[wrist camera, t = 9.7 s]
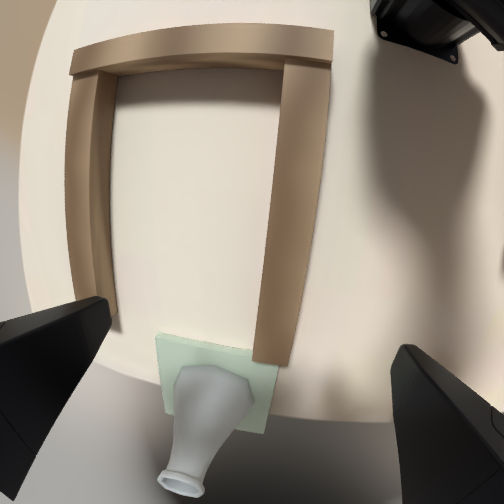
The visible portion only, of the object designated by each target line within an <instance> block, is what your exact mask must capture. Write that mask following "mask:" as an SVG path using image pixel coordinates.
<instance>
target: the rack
mask: <svg viewBox="0 0 504 504" xmlns="http://www.w3.org/2000/svg"><path fill="white" fill-rule="evenodd" d="M333 39H334V31H332V30H326V29H319V28H312V27H303V26H294V25H281V24H262V23H223V24H204V25H192V26H182V27H174V28H166V29H159V30H153V31H147V32H142V33H137V34H132V35H127V36H123V37H118V38H114V39H110V40H106V41H103V42H99V43H95V44H92V45H89V46H85V47H82V48H79V49H76V50H74V53H73V57H72V62H71V67H70V72H69V75H72V76H73V81H72V88H71V94H70V102H69V110H68V119H67V131H66V146H65V214H66V229H67V241H68V251H69V259H70V267H71V274H72V281H73V287H74V293H75V299H76V301H78V300H82V299H85V298H89V297H92V296H101V297H104V298H106V299H107V300H108V302H109V307H110V313H111V317H113V316H114V315H115V314H116V313H117V305H116V297H115V288H114V279H113V268H112V255H111V239H110V209H109V184H110V154H111V138H112V126H113V115H114V106H115V98H116V91H117V84H118V77H119V76H124V75H131V74H138V73H146V72H154V71H164V70H177V69H193V68H254V69H271V70H283V71H284V76H283V86H282V97H281V107H280V117H279V127H278V137H277V147H276V156H275V166H274V175H273V184H272V194H271V203H270V212H269V221H268V230H267V238H266V247H265V256H264V264H263V273H262V281H261V290H260V298H259V306H258V314H257V322H256V330H255V338H254V346H253V354H252V361H253V362H259V363H266V364H273V365H280V366H288V362H289V358H290V353H291V349H292V344H293V339H294V335H295V330H296V325H297V320H298V315H299V310H300V305H301V299H302V294H303V289H304V283H305V278H306V272H307V266H308V260H309V255H310V248H311V242H312V236H313V229H314V223H315V216H316V209H317V202H318V195H319V187H320V180H321V171H322V163H323V155H324V145H325V136H326V126H327V115H328V104H329V91H330V77H331V63H332V60H333Z"/></svg>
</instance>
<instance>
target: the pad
mask: <svg viewBox="0 0 504 504" xmlns="http://www.w3.org/2000/svg"><path fill="white" fill-rule="evenodd" d="M155 340H156V350H157V358H158V367H159V374H160V381H161V388H162V395H163V401H164V407H165V413H167V414H170V415H174V404H173V389H174V383H175V381H176V379H177V376H178V374H179V372H180V369H181V367H182V366H199V365H215V366H218V367H220V368H222V369H224V370H227V371H229V372H231V373H233V374H236V375H238V376H241V377H243V378H245V379H247V380H248V383H249V386H250V389H251V392H252V395H253V398H254V401H255V403H254V405H253V406H252V407H251V409H250V410H249V411H248V413H247V414H246V415H245V416H244V418H243V419H242V420H241V421H240V423H239V424H238V425H237V426H236V428H235V430H241V431H247V432H253V433H260V434H264V431H265V426H266V422H267V417H268V413H269V409H270V405H271V400H272V396H273V391H274V386H275V382H276V377H277V372H278V367H279V365H273V364H266V363H259V362H253V361H252V354H253V351H252V350H246V349H240V348H234V347H228V346H223V345H217V344H212V343H207V342H202V341H197V340H192V339H188V338H183V337H178V336H174V335H170V334H165V333H161V332H159V333H158V334H157V335H156V337H155Z"/></svg>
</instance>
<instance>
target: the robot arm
mask: <svg viewBox="0 0 504 504" xmlns="http://www.w3.org/2000/svg"><path fill="white" fill-rule="evenodd" d="M370 10H371V13H372V14H373V15H375V16H377V34H378V36H379V37H380V38H381V39H383V40H387V41H390V42H394V43H397V44H400V45H404V46H407V47H410V48H413V49H416V50H419V51H422V52H424V53H427V54H430V55H433V56H435V57H438V58H440V59H443V60H445V61H448V62H450V63H452V64H458V49H457V45H459V44H461V43H462V42H464V41H465V40H467V39H469V38H470V37H472V36H474V35H476V34H477V33H479V32H481V33H482V34H483V35H484V36H485V37H486V38H487V39H488V40H489V41H490V42H491V45H492V46H493V47H494V48H495V49H496V50H497V51H504V0H370ZM381 31H385V32H386V33H387V35H388V36H387V37H383V36H382V35H381ZM451 55H453V56H454V57H455V58H456V61H452V60H451V58H450V56H451ZM111 324H112V318H111V313H110V307H109V302H108V300H107V299H106V298H104V297H101V296H92V297H89V298H85V299H82V300H78V301H74V302H71V303H67V304H64V305H60V306H57V307H53V308H50V309H46V310H42V311H39V312H35V313H32V314H28V315H25V316H21V317H17V318H14V319H10V320H7V321H3V322H0V492H2V493H3V494H4V495H6V496H7V497H8V498H9V499H11V500H12V501H14V500H15V498H16V496H17V494H18V492H19V490H20V488H21V485H22V483H23V481H24V479H25V477H26V475H27V473H28V471H29V469H30V467H31V465H32V463H33V461H34V459H35V458H36V455H37V453H38V452H39V449H40V448H41V446H42V444H43V442H44V441H45V439H46V437H47V435H48V433H49V432H50V430H51V428H52V426H53V425H54V423H55V421H56V419H57V418H58V416H59V414H60V413H61V411H62V409H63V407H64V406H65V404H66V403H67V401H68V399H69V398H70V396H71V394H72V393H73V391H74V390H75V388H76V386H77V385H78V383H79V382H80V380H81V378H82V377H83V375H84V374H85V372H86V371H87V369H88V367H89V366H90V364H91V363H92V361H93V359H94V357H95V356H96V354H97V352H98V350H99V348H100V346H101V344H102V342H103V340H104V338H105V337H106V335H107V333H108V331H109V329H110V327H111ZM390 374H391V387H392V403H393V417H394V424H395V430H396V438H397V446H398V454H399V463H400V474H401V486H402V504H504V415H503V414H502V413H500V412H499V411H498V410H497V409H496V408H494V407H493V406H491V405H490V404H489V403H488V402H487V401H486V400H484V399H483V398H482V397H481V396H479V395H478V394H477V393H476V392H474V391H473V390H472V389H471V388H469V387H468V386H467V385H466V384H464V383H463V382H462V381H461V380H459V379H458V378H457V377H455V376H454V375H453V374H452V373H450V372H449V371H448V370H447V369H445V368H444V367H443V366H441V365H440V364H439V363H438V362H436V361H435V360H434V359H432V358H431V357H430V356H429V355H427V354H426V353H425V352H423V351H422V350H421V349H419V348H418V347H417V346H415V345H413V344H403V345H401V346H400V348H399V350H398V352H397V354H396V357H395V359H394V361H393V363H392V366H391V371H390Z"/></svg>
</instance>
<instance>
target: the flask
mask: <svg viewBox="0 0 504 504" xmlns="http://www.w3.org/2000/svg"><path fill="white" fill-rule="evenodd" d="M254 403H255V401H254V398H253V395H252V392H251V389H250V386H249V383H248V380H247V379H245V378H243V377H241V376H238V375H236V374H233V373H231V372H229V371H227V370H224V369H222V368H220V367H218V366H215V365H199V366H182V367H181V369H180V372H179V374H178V376H177V379H176V381H175V383H174V389H173V404H174V428H173V434H174V435H173V438H174V439H173V446H172V451H171V456H170V461H169V463H168V466H167V468H166V470H163V471H162V472H161V474H160V475H159V477H158V479H157V481H158V482H159V483H160V484H161V485H162V486H163V487H164V488H166V489H168V490H170V491H173V492H175V493H178V494H181V495H185V496H191V497H200V496H201V495H202V494H204V491H205V488H204V486H203V485H202V483H203V479H204V476H205V473H206V470H207V468H208V466H209V465H210V463H211V461H212V459H213V457H214V456H215V454H216V452H217V451H218V450H219V448H220V447H221V446H222V444H223V443H224V442H225V441H226V439H227V438H228V437H229V435H230V434H231V433H232V431H233V430H234V429H235V428H236V426H237V425H238V424H239V423H240V421H241V420H242V419H243V418H244V416H245V415H246V414H247V413H248V411H249V410H250V409H251V407H252V406H253V405H254Z"/></svg>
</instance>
